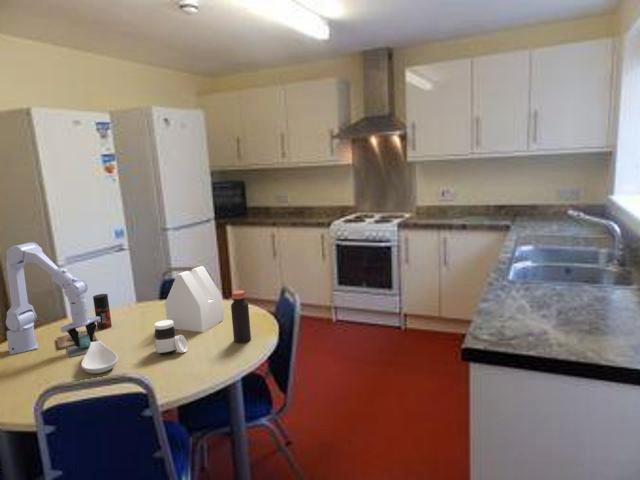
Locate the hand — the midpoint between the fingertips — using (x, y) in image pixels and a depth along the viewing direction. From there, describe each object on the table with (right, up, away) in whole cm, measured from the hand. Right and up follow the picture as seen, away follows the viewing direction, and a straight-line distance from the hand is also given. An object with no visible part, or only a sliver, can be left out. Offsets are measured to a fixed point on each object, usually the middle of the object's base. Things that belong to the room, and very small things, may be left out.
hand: (84, 343), depth 179 cm
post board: (-8, -1, +10) cm, 13 cm away
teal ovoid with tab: (0, -1, 0) cm, 1 cm away
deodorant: (-4, +2, +25) cm, 25 cm away
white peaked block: (+39, +3, +23) cm, 45 cm away
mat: (0, -2, 0) cm, 2 cm away
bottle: (+63, +1, +1) cm, 63 cm away
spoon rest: (+13, -4, -15) cm, 20 cm away
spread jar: (+38, -2, -7) cm, 38 cm away
